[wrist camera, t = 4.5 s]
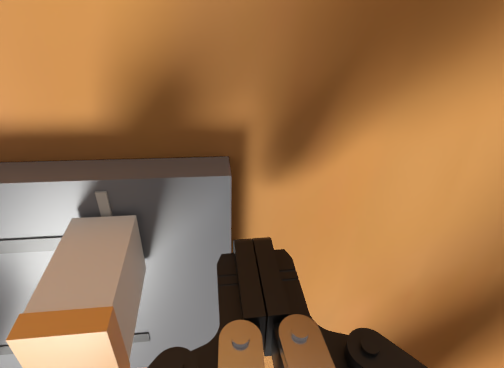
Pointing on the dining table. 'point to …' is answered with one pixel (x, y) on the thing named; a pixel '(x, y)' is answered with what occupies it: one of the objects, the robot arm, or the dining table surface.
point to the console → (151, 233)
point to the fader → (85, 299)
